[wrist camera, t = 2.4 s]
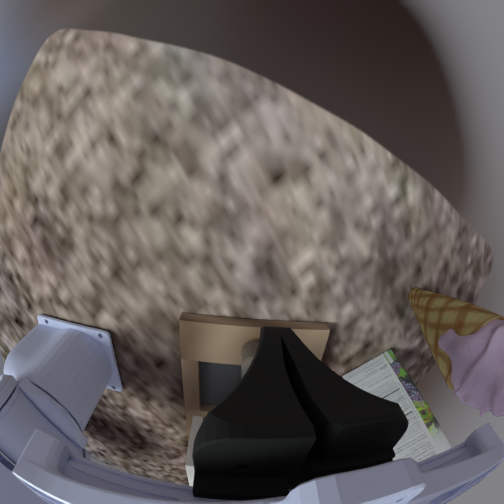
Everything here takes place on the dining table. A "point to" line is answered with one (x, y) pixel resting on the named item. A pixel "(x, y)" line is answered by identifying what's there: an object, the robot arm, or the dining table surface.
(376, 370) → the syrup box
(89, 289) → the dining table surface
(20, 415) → the robot arm
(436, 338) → the ice cream cone
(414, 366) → the dining table surface
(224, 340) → the frame
